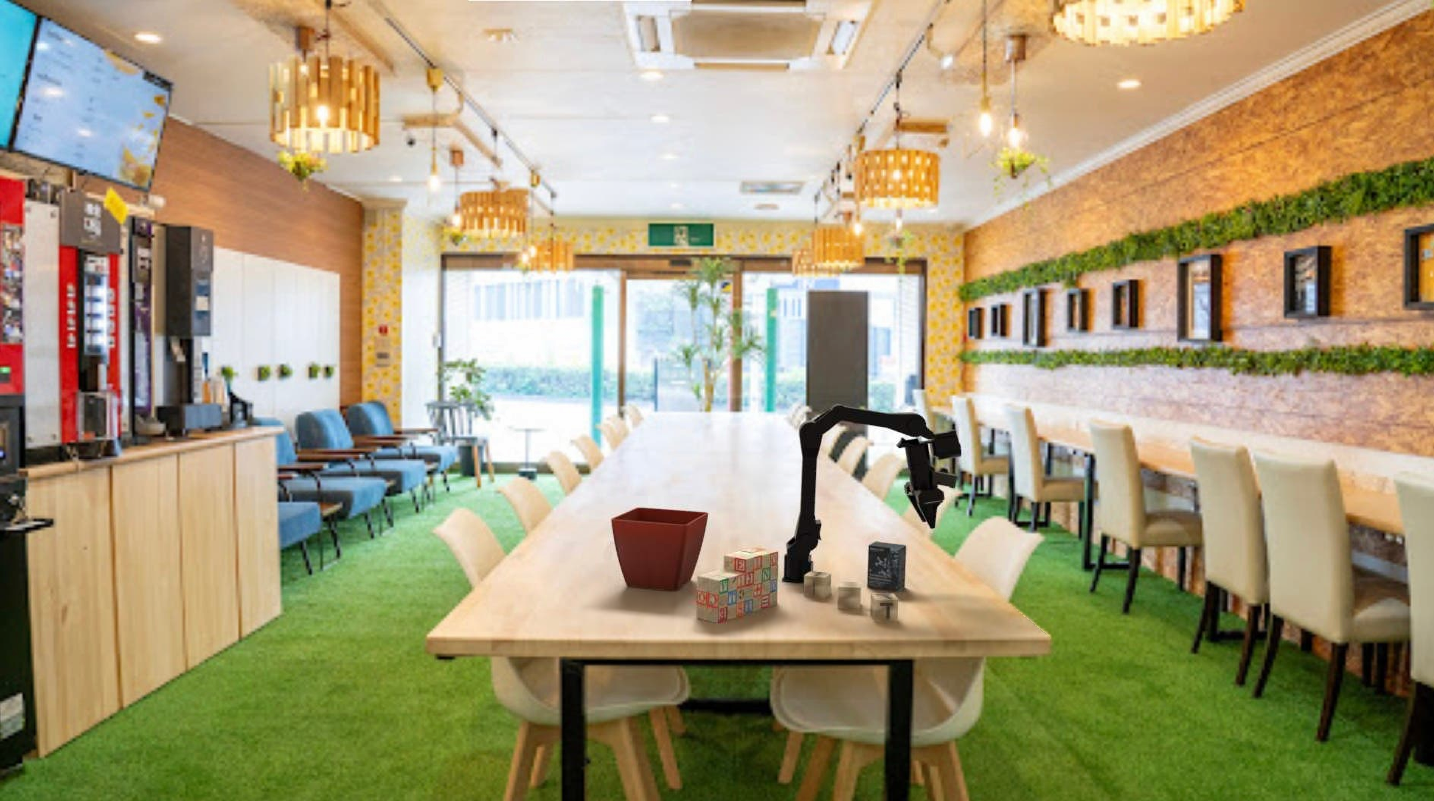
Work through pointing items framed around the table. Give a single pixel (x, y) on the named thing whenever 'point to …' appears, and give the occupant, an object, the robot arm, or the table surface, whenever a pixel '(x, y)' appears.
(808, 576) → the numeral cube one
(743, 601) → the stack of blocks
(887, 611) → the letter t cube
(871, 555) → the box
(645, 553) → the plant pot
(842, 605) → the plain maple cube
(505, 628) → the table surface
